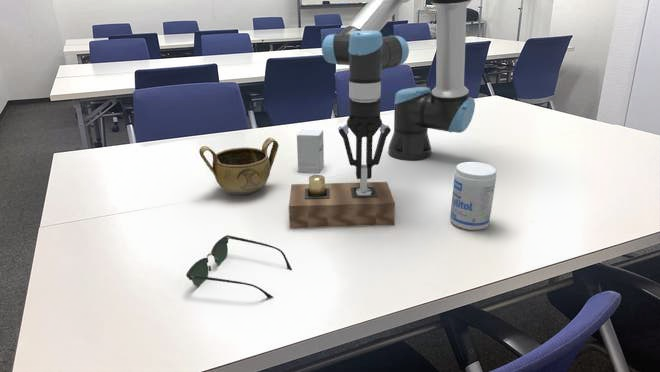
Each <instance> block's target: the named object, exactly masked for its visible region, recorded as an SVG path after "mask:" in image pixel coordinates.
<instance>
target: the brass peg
mask: <svg viewBox="0 0 660 372" xmlns="http://www.w3.org/2000/svg"><path fill="white" fill-rule="evenodd" d="M325 179H326V178H325V176H324V175H322V174H313V175H310V176H309V177H308V184H309V192H310V197H320V196H325V183H326V181H325Z"/></svg>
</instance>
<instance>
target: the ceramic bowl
mask: <svg viewBox="0 0 660 372" xmlns="http://www.w3.org/2000/svg"><path fill="white" fill-rule="evenodd" d="M271 144H272V146H271ZM269 146H271V149H270V153H269V156H268V148H269ZM278 150H279V143H278V141H277V140H276V139H275V138H273V137H267V138H266V139H265V140H264V142H263V144H262V147H261V149H260V148H256V147H250V146H249V147H244V146H243V147H232V148H228V149H223V150H221V151H219V152H217V153H216V152H214V150H213V149H212V148H211V147H209V146H206V145H203V146H201V147H200V148H199V151H198V153H199V156H200V158H202V159H201V160H203V162H204V163H205V165H206V166H207V167H208V169H209V170H210V171H211V172H212V174H213V177H214V178H215V181H216V182H217V184H218V186H220V188H221V189H223V190H224V191H225V192H228V193H230V194H233V195H237V196H238V195H239V196H244V195H245V196H246V195H249V194H250V195H251V194H253V193H256V192H258V191H259V190H260V189H261V188H262V187H264V186H265V184H266V183H267V182H268V179H269V178H270V176H271V170H272V167H273V164H274V161H275V158H276V155H277V153H278ZM206 151H208V152H210V154H211V156H212V164H211V162H210V161H208V159H207V158H206V156H205V154H204V153H205V152H206Z"/></svg>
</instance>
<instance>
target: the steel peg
mask: <svg viewBox="0 0 660 372" xmlns="http://www.w3.org/2000/svg"><path fill="white" fill-rule="evenodd" d="M357 195H372V191H371V189H368V188H367V192H361V190H360V188H359V189H357V190H356V196H357Z"/></svg>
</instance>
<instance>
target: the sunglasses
mask: <svg viewBox="0 0 660 372" xmlns="http://www.w3.org/2000/svg"><path fill="white" fill-rule="evenodd" d="M229 240H235V241H240V242H244V243H249V244H254V245H260V246H264V247H268V248H272V249H274V250H277V251H278V252H279V253H281V255H282V257H283V259H284V261H285V265H286V269H287V270H289V271H293V268H292V267H291V265H290V263H289V261H288V257H287V256H286V254H285V253H284V252H283V250H281V249H280V248H278V247H275V246H273V245H270V244H267V243H263V242H259V241H255V240H252V239H248V238H243V237H237V236H234V235H233V236H232V235H228V234H227V235H225V236H223V237H221V238H220V239H219V240H217V241H216V242H215V243H214V245H213V246H212V248H211V251H210V252H209V253H208V254H207V255H206V257H204V258H201V259H199V260H197V261H195V263H193V265H192V266H190V268H189V269H188V271H187V272H186V278H187V279H188V280H189V281H191V282H192V284H193V285H194V286H195V287H196V288H199V287H201V285H202V284H203V283H204V282H205V281H206V280H208V281H216V282H225V283H231V284H237V285H238V284H239V285H244V286H251V287H253V288H255V289H258V290H260V292H262V294H264V295H265V296H266V298H268V299H269V298H270V299H271V298H274V296H273V295H271V294H270V293H268V292H267V291H266V290H264V289H263V288H261V287H259V286H257V285H254V284H252V283H248V282H244V281H243V282H242V281H236V280H230V279H223V278H218V277H210V276H209V272H211V270H212V267H211V265H208V263H209V257H210V256H212V257H213V259H214V263H215V264H216V265H218V266H221V264H222V263H223V262H224V261H225V260H226V259H227V258H228V252H229V251H228V250H229V248H228V243H229Z"/></svg>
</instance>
